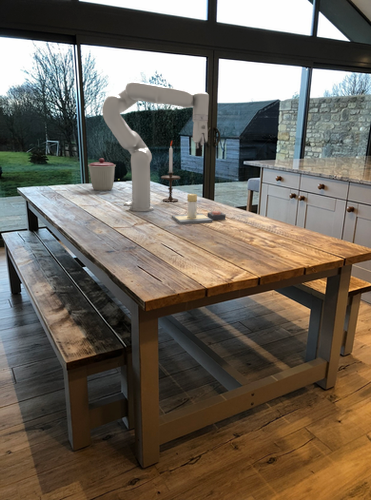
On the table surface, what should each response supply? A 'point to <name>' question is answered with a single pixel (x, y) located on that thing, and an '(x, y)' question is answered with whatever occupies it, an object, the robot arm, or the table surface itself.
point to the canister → (102, 175)
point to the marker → (191, 205)
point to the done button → (216, 212)
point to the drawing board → (191, 219)
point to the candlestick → (170, 178)
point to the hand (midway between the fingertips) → (198, 156)
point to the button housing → (216, 216)
